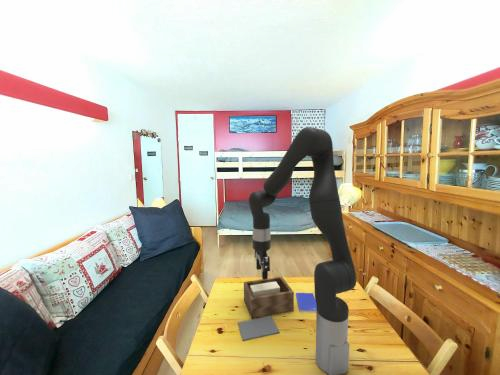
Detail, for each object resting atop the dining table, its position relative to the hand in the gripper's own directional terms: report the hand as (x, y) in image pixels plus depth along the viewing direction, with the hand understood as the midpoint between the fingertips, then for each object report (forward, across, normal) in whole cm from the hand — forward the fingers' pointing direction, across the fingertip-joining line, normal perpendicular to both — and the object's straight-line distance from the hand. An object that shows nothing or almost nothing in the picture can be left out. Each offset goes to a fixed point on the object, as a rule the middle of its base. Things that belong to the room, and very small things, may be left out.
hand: (261, 273), depth 98 cm
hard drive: (+16, -3, -20) cm, 25 cm away
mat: (+15, -12, +5) cm, 20 cm away
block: (+11, 0, -1) cm, 11 cm away
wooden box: (+15, 0, -2) cm, 15 cm away
